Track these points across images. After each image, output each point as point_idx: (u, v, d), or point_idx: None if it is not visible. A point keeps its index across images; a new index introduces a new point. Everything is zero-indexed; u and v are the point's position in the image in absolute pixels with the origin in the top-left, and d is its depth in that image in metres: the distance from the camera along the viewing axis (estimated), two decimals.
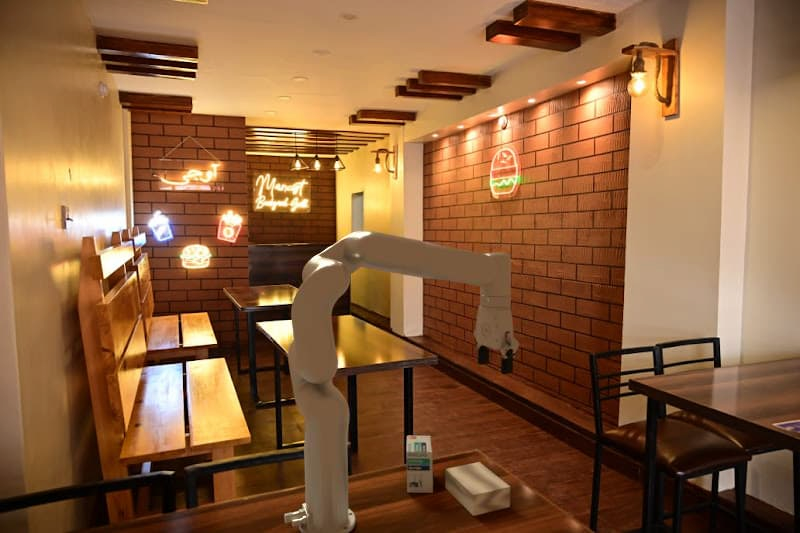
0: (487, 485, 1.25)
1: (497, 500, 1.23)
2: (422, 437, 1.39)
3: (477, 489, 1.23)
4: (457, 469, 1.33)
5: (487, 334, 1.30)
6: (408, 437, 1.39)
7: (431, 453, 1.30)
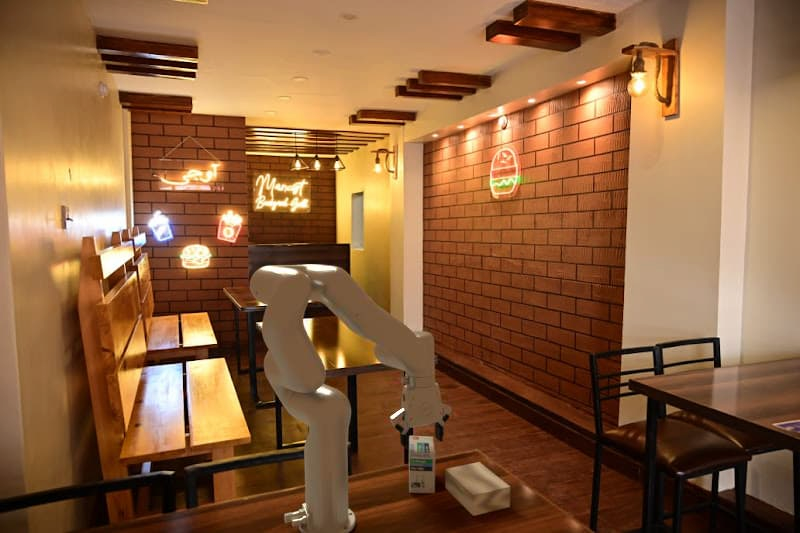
0: (487, 485, 1.25)
1: (497, 500, 1.23)
2: (425, 438, 1.39)
3: (477, 489, 1.23)
4: (457, 469, 1.33)
5: (428, 412, 1.33)
6: (411, 437, 1.39)
7: (434, 454, 1.31)
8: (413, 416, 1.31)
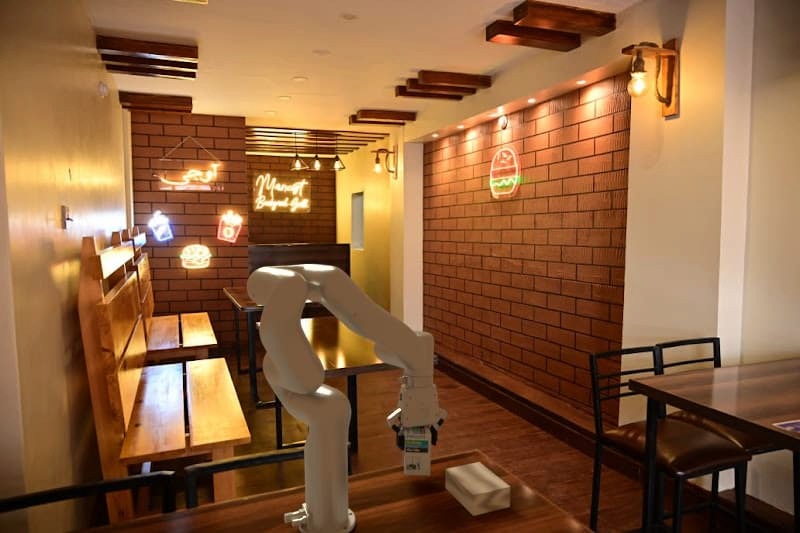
0: (487, 485, 1.25)
1: (497, 500, 1.23)
2: None
3: (477, 489, 1.23)
4: (457, 469, 1.33)
5: (424, 413, 1.32)
6: None
7: (430, 435, 1.29)
8: (409, 416, 1.30)
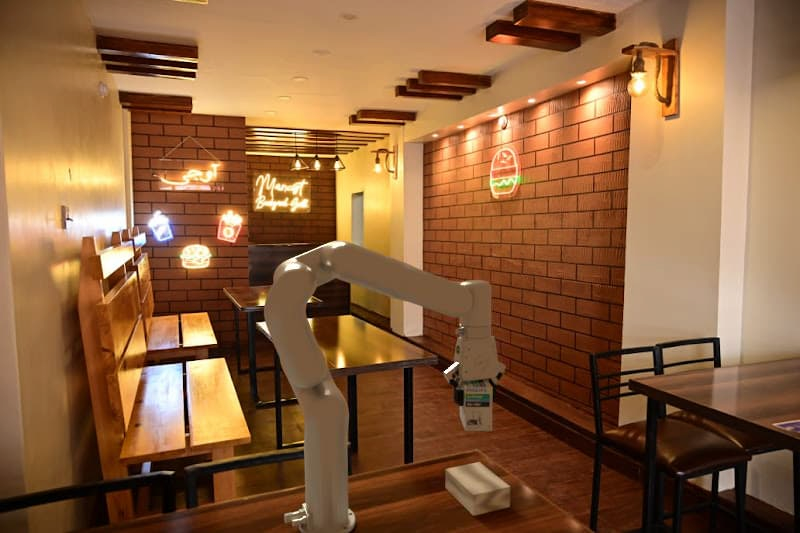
0: (487, 485, 1.25)
1: (497, 500, 1.23)
2: None
3: (477, 489, 1.23)
4: (457, 469, 1.33)
5: (483, 366, 1.24)
6: None
7: (491, 388, 1.22)
8: (468, 369, 1.23)
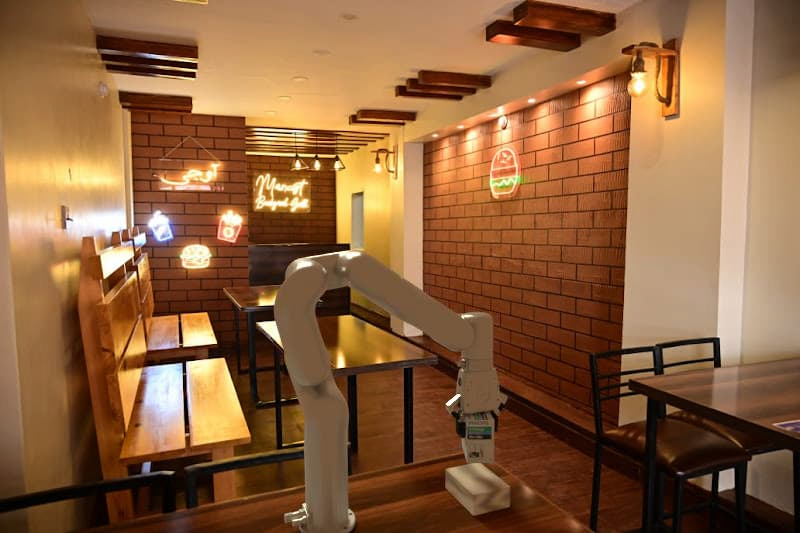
0: (487, 485, 1.25)
1: (497, 500, 1.23)
2: None
3: (477, 489, 1.23)
4: (457, 469, 1.33)
5: (485, 398, 1.25)
6: None
7: (493, 421, 1.22)
8: (470, 402, 1.23)
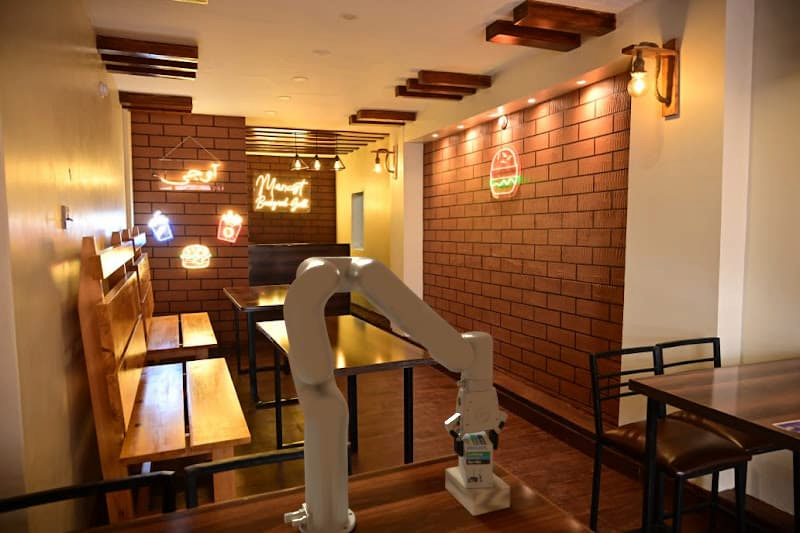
0: None
1: (497, 500, 1.23)
2: None
3: (477, 489, 1.23)
4: (457, 469, 1.33)
5: (485, 418, 1.25)
6: None
7: (491, 445, 1.23)
8: (469, 421, 1.23)
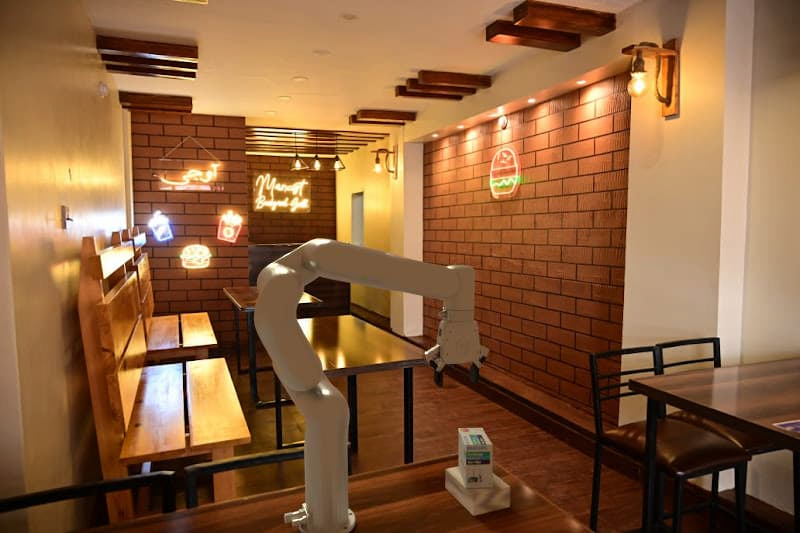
0: None
1: (497, 500, 1.23)
2: (475, 429, 1.31)
3: (477, 489, 1.23)
4: (457, 469, 1.33)
5: (465, 350, 1.26)
6: (460, 430, 1.31)
7: (491, 445, 1.23)
8: (449, 352, 1.24)
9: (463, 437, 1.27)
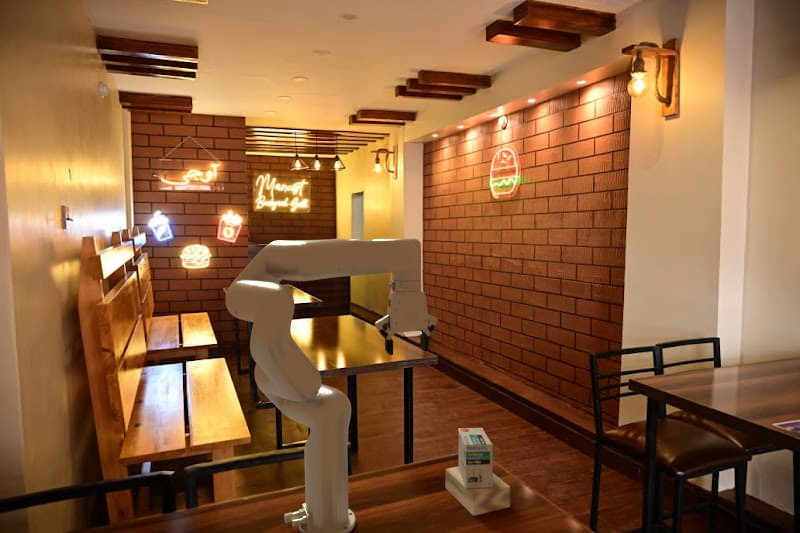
0: None
1: (497, 500, 1.23)
2: (475, 429, 1.31)
3: (477, 489, 1.23)
4: (457, 469, 1.33)
5: (413, 319, 1.32)
6: (460, 430, 1.31)
7: (491, 445, 1.23)
8: (398, 321, 1.31)
9: (463, 437, 1.27)
